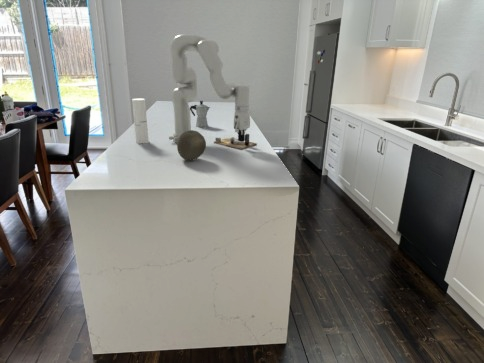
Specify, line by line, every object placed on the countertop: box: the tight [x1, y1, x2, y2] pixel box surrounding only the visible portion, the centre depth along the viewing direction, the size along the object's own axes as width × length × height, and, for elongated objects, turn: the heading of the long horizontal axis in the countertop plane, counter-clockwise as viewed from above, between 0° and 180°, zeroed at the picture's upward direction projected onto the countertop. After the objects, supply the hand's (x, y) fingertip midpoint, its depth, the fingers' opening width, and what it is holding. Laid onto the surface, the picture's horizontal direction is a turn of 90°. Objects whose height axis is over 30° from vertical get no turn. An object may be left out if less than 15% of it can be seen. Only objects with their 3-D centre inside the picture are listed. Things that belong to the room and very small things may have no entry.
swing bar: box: [229, 133, 250, 145], centre depth 198 cm, size 12×3×6 cm, turn 70°
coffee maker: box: [189, 100, 211, 129], centre depth 242 cm, size 15×9×18 cm, turn 84°
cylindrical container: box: [131, 97, 149, 144], centre depth 198 cm, size 7×7×25 cm
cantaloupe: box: [176, 129, 207, 162], centre depth 170 cm, size 14×14×15 cm
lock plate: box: [213, 136, 258, 151], centre depth 202 cm, size 15×21×3 cm
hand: (241, 141), depth 192 cm, fingers closed
